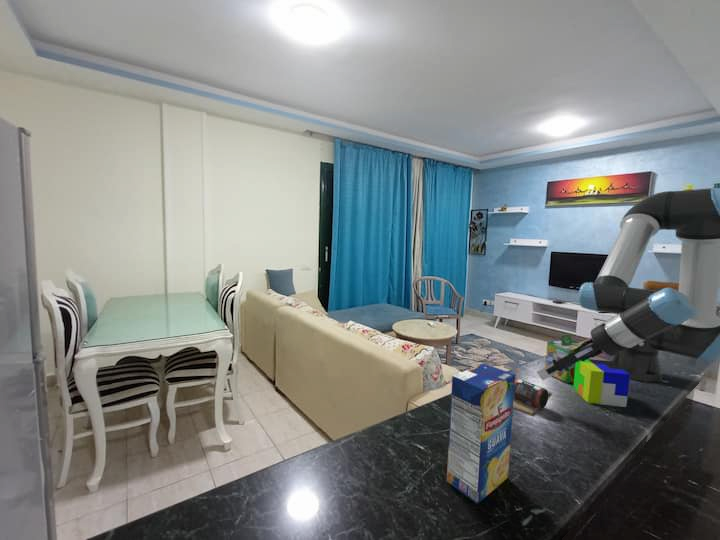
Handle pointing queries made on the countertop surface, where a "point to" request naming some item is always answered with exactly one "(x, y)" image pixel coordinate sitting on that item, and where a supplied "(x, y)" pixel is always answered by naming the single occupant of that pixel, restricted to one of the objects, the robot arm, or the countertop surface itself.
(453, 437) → the beverage box
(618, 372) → the puzzle toy
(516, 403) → the wooden board
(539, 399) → the supplement bottle
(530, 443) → the countertop surface
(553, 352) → the chalk box
